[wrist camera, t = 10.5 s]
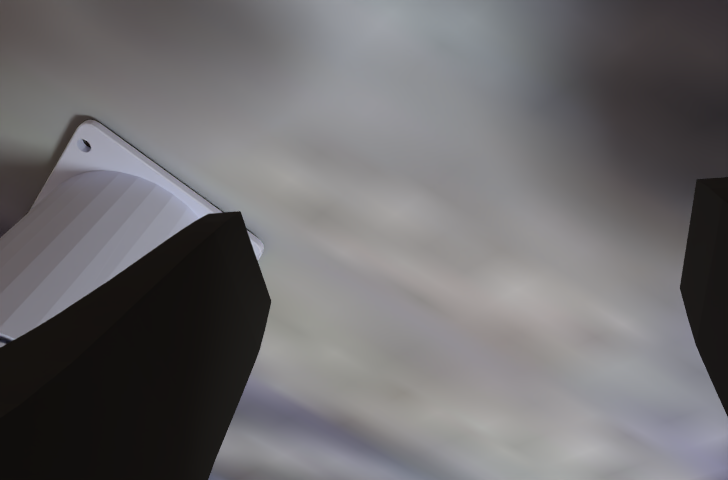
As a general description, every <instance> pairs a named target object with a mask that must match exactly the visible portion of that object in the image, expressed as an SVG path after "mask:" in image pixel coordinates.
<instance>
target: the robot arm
mask: <svg viewBox="0 0 728 480" xmlns="http://www.w3.org/2000/svg"><path fill="white" fill-rule="evenodd" d="M82 139H84V140H86V141H87V142H88V143H89V144H90V146H91V148H90V147H88V146H86V145H85V144H84V142H83V140H82ZM263 251H264V245H263V243H262V241H261V240H260V239H259V238H257V237H256V236H254V235H253V234H252V233H250V232H249V231H248V230H247V229H246V226H245V223H244V220H243V217H242V215H241V212H240V211H239V212H225V213H223V212H221V211H220V210H219V209H217V208H216V207H215V206H213V205H212V204H210V203H209V202H208V201H206V200H205V199H204V198H202V197H201V196H199V195H198V194H197V193H195V192H194V191H193V190H191V189H190V188H188V187H187V186H186V185H184V184H183V183H181V182H180V181H179V180H177V179H176V178H175V177H173V176H172V175H170V174H169V173H168V172H166V171H165V170H164V169H162V168H161V167H159V166H158V165H157V164H155V163H154V162H153V161H151V160H150V159H148V158H147V157H146V156H144V155H143V154H142V153H140V152H139V151H137V150H136V149H135V148H133V147H132V146H131V145H129V144H128V143H126V142H125V141H124V140H122V139H121V138H120V137H118V136H117V135H115V134H114V133H113V132H111V131H110V130H109V129H107V128H106V127H104V126H103V125H102V124H100V123H99V122H97V121H95V120H86V121H84V122H83V123H82V124H80V125H79V126H78V127H77V129H76V131H75V133H74V134H73V136H72V138H71V140H70V141H69V143H68V145H67V146H66V148H65V150H64V152H63V153H62V155H61V157H60V159H59V160H58V162H57V164H56V166H55V167H54V169H53V171H52V172H51V174H50V176H49V178H48V179H47V181H46V183H45V185H44V186H43V188H42V190H41V192H40V193H39V195H38V197H37V199H36V200H35V202H34V204H33V205H32V207H31V209H30V211H29V212H28V214H26V215H25V216H24V217H23V218H22V219H21V220H20V221H19V222H17V223H16V224H15V225H14V226H13V227H12V228H11V229H10V230H8V231H7V232H6V233H5V234H4V235H3V236H2V237H1V238H0V480H208V478H209V475H210V473H211V470H212V467H213V464H214V462H215V459H216V457H217V454H218V452H219V449H220V447H221V445H222V442H223V440H224V437H225V435H226V432H227V430H228V427H229V425H230V423H231V420H232V418H233V415H234V413H235V410H236V408H237V405H238V403H239V401H240V398H241V396H242V393H243V391H244V388H245V386H246V383H247V381H248V378H249V376H250V373H251V371H252V368H253V366H254V363H255V361H256V358H257V355H258V353H259V350H260V346H261V342H262V339H263V335H264V331H265V327H266V323H267V318H268V314H269V309H270V305H271V299H270V296H269V293H268V290H267V287H266V285H265V282H264V279H263V276H262V273H261V270H260V267H259V264H258V261H257V260H258V259H259V258H260V257H261V255H262V253H263ZM680 290H681V294H682V298H683V301H684V305H685V309H686V313H687V316H688V320H689V323H690V327H691V330H692V333H693V337H694V340H695V343H696V346H697V349H698V351H699V353H700V356H701V358H702V360H703V362H704V365H705V367H706V369H707V372H708V374H709V376H710V378H711V381H712V383H713V385H714V387H715V390H716V392H717V394H718V396H719V398H720V401H721V403H722V405H723V407H724V409H725V412H726V414H727V416H728V177H724V178H710V179H697V181H696V188H695V194H694V201H693V207H692V213H691V220H690V226H689V233H688V239H687V246H686V252H685V259H684V265H683V271H682V278H681V284H680Z"/></svg>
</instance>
